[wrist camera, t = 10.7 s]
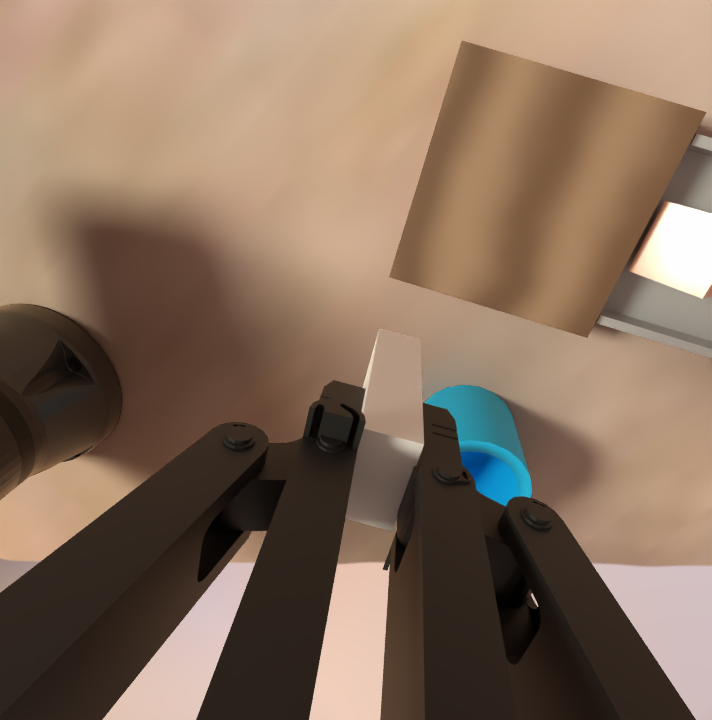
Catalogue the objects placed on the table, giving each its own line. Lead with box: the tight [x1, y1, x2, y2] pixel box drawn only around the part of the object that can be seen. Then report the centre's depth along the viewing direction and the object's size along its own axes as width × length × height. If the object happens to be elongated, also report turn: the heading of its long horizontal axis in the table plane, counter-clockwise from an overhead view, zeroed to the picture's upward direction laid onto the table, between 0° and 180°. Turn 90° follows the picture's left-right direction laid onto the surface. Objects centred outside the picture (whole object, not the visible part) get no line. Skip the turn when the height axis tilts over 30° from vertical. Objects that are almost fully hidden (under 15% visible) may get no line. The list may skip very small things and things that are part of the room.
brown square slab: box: [389, 41, 706, 337], centre depth 31 cm, size 14×14×4 cm
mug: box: [425, 385, 532, 506], centre depth 37 cm, size 12×8×8 cm
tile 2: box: [628, 201, 712, 299], centre depth 30 cm, size 4×4×2 cm
